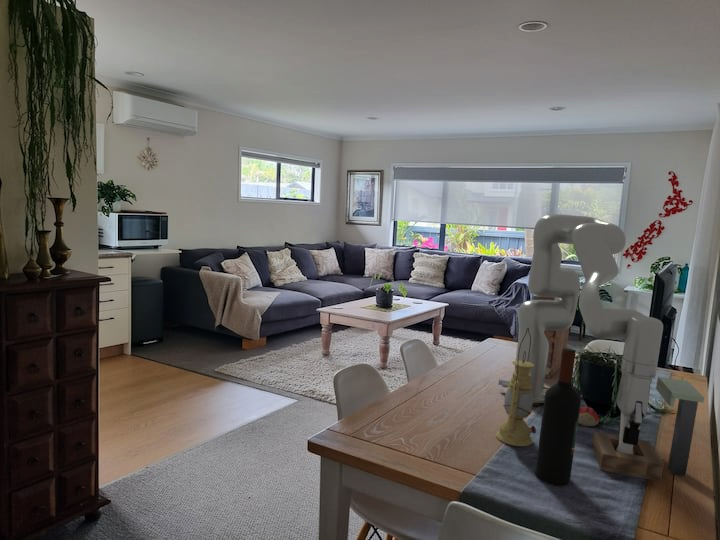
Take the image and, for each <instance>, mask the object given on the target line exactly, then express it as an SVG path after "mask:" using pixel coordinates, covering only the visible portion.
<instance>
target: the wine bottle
mask: <svg viewBox="0 0 720 540" xmlns="http://www.w3.org/2000/svg"><path fill="white" fill-rule="evenodd" d="M561 356H562V357H561V365H560V369H559V372H558V373H559V374H558V380H557V383H555V384H553V385H552V386H550V387H549V388H548V389H547V390H545V392H544V393H545V399H544V402H543V409H542V415H541V423H540V431H539V439H538V447H537V455H536V461H535V471H534V475H535V477H536V478H537V479H538V480H540V481H541V482H542V483H545V484H547V485H550V486H556V487H564V486H568V485H569V484H570V482H571V476H572V466H573V461H574V460H573V459H574V453H575V448H576V447H575V446H576V439H577V433H578V432H577V431H578V424H579V423H578V418H579V411H580V408H581V404H582V403H581V401H582V399H581V396H580V394H579V393H578V391H577V390H576V389H575V388H574V387H573V384H572V381H573V373H574V365H575V359H576V349H572V348H568V347H567V348H563V349H562V354H561Z"/></svg>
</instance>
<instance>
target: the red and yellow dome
mask: <svg viewBox="0 0 720 540" xmlns="http://www.w3.org/2000/svg"><path fill="white" fill-rule="evenodd" d="M599 419H600V418H599V416H598V413H597V412H596V411H595V409H593V408H592V407H591V406H590V407H589V406H582V407H581V406H580V411H579V418H578V424H580V425H581V426H584V427H589V426H591V427H595V426H597V425H598V424H599V422H600V421H599Z"/></svg>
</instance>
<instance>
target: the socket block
mask: <svg viewBox="0 0 720 540" xmlns="http://www.w3.org/2000/svg"><path fill="white" fill-rule="evenodd" d="M618 445H619V435H615V434H609V433H604V432H598V431H593V438H592V446H591V447H592V450H593V453H594V452H595V453H594V455H596V456H595V458H596V461H597V464H598V467H599V469H600V471H605V472H611V473H615V474H621V475H626V476H630V477H631V476H632V477H635V478H636V477H637V478H641V479H647V480H651V481H658V482H662V475H663V469H664V464H663V463H664V462H662V460H661V459H660V457H659V455H658V453H657V452H656V450H655V449H654V446H653V445H652V443H651V442H650V440H645V439H640V438H639V439H638V444H637V445H633V454H634V455H632V454H626V453H621V452H617V451H616V449H617V447H618Z"/></svg>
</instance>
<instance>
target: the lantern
mask: <svg viewBox="0 0 720 540" xmlns="http://www.w3.org/2000/svg"><path fill="white" fill-rule="evenodd" d="M527 329H528V333H529V328H527ZM526 333H527V330H526ZM526 333H525V336H526ZM529 335H530V333H529ZM525 336H524V337H525ZM524 337H523V339H524ZM523 339H522V341H523ZM522 341H521V343H522ZM530 345H531V335H530ZM520 347H521V344H520ZM520 347H519V352H520ZM524 353H525V357H526V351H524ZM529 353H530V347H529ZM523 357H524V354H523ZM528 359H529V354H528ZM512 364H513V365H514V370H515V369H516V371H515V372H514V371H513V372H512V377H511V379H510V380H511V382H510V383H509V386H508V388H507V389H506V391H505V395H504V404H503V405H502V406H503V407H504V410H505V413H506V414H507V415H508V418H506V419H504V420H503V421H502V423H500V425H499V430H498V431H497V432H496V434H495V436H496V438H497V439H498V440H499V441H500V442H502V443H504V444H506V445H510V446H514V447H529V446H531V445H532V444H533V439H532V437H531V434H532V433H533V434H536V433H537V429H536V426H535V425H531V427H529V425H528V423H527V422H526V421H525V420H524V419H526V418H528V416H530V415H531V413H532V411H533V404H534V403H533V394H532V390H531V388H532V386H531V375H530V374H529V371H530V368H533V367H534V365H533V364H532V363H530V362H528V361H525V359H524V360H523V361H519V353H518V361H516V360H513V361H512Z"/></svg>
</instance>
